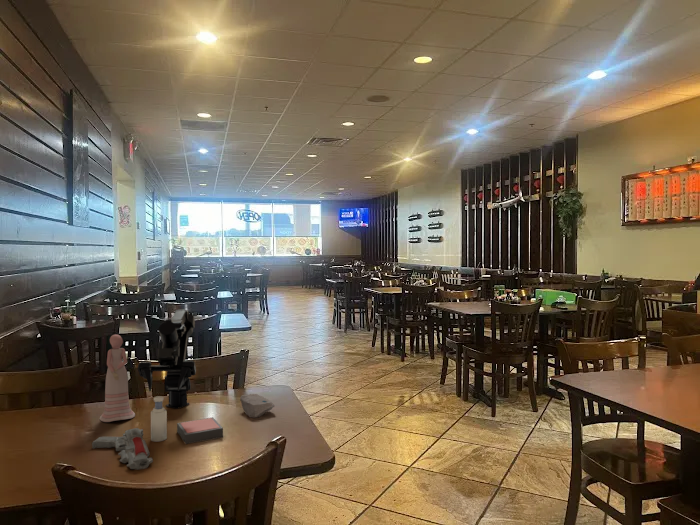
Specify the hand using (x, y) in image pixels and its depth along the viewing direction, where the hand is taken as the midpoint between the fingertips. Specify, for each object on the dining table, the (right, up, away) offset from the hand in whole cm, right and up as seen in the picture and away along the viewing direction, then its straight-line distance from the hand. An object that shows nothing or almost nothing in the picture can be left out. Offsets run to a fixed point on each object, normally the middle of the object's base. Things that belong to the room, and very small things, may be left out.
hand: (164, 390), depth 174 cm
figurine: (-21, -13, +13) cm, 28 cm away
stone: (+28, -14, +19) cm, 37 cm away
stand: (+13, -14, -3) cm, 19 cm away
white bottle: (+1, -14, -7) cm, 16 cm away
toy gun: (-6, -15, -20) cm, 25 cm away
